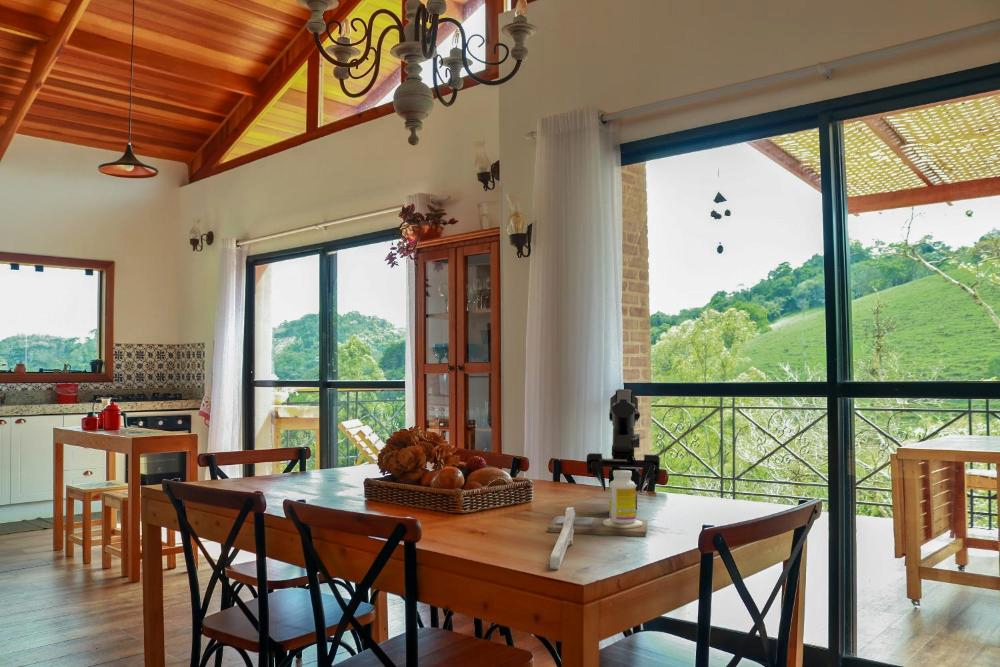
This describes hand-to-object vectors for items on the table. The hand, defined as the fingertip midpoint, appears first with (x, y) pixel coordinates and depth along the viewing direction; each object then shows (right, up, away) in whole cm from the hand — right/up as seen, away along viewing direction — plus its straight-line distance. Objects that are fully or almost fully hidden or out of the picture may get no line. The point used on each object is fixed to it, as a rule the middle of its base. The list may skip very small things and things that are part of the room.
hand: (622, 490), depth 211 cm
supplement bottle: (0, -8, 0) cm, 8 cm away
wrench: (-17, -9, -27) cm, 33 cm away
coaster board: (-6, -10, +1) cm, 11 cm away
